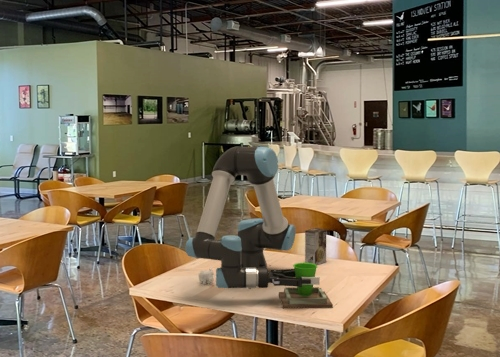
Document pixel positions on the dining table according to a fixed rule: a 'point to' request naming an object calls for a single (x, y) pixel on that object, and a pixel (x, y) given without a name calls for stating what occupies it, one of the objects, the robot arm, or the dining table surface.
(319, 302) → the jig cradle
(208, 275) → the elephant figurine
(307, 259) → the coffee box
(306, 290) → the cup
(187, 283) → the dining table surface
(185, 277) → the dining table surface
